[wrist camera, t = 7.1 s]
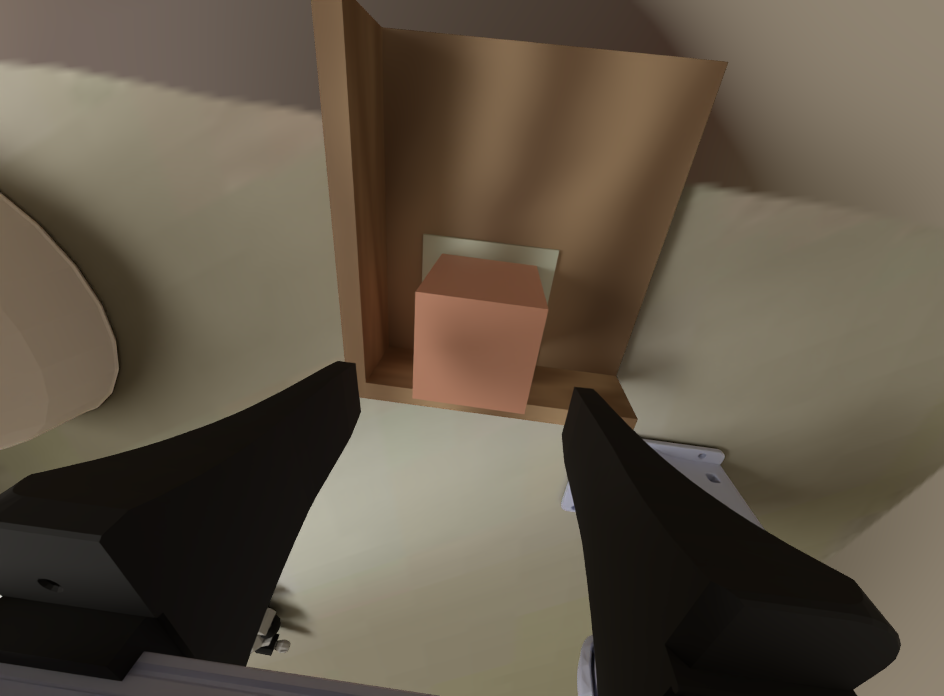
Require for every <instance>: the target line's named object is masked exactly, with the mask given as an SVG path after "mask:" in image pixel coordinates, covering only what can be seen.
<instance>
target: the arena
mask: <svg viewBox="0 0 944 696" xmlns="http://www.w3.org/2000/svg"><path fill="white" fill-rule="evenodd" d="M311 5H312V16H313V27H314V37H315V46H316V58H317V69H318V80H319V90H320V101H321V112H322V122H323V133H324V144H325V154H326V165H327V176H328V186H329V197H330V208H331V218H332V229H333V239H334V250H335V261H336V271H337V282H338V293H339V303H340V314H341V325H342V335H343V346H344V357H345V362H351V363H356V371H357V380H358V390H359V397H361V398H368V399H376V400H383V401H390V402H398V403H405V404H413V405H420V406H427V407H435V408H442V409H449V410H457V411H464V412H472V413H479V414H486V415H494V416H501V417H508V418H516V419H523V420H531V421H538V422H545V423H553V424H560V425H565V421H566V417H567V413H568V409H569V405H570V401H571V397H572V394H573V390H574V387H582V388H591V389H594V390H595V391H596V392H597V393H598V394H599V395H600V396H601V397H602V398H603V399H604V400H605V401H606V402H607V403H608V404H609V405H610V407H611V408H612V409H613V410H614V411H615V412H616V413H617V414H618V415H619V416H620V417H621V418H622V419H623V420H624V421H625V422H626V423H627V424H628V425H629V426H630V427H631V428H632V429H634V427H635V425H636V422H637V420H638V419H637V417H636V415H635V413H634V411H633V409H632V407H631V405H630V403H629V401H628V399H627V397H626V395H625V393H624V391H623V389H622V387H621V385H620V383H619V381H618V379H617V377H616V375H617V372H618V369H619V367H620V364H621V361H622V358H623V355H624V353H625V350H626V347H627V344H628V341H629V339H630V336H631V333H632V330H633V327H634V325H635V322H636V319H637V316H638V314H639V311H640V308H641V305H642V302H643V300H644V297H645V294H646V291H647V288H648V286H649V283H650V280H651V277H652V274H653V272H654V269H655V266H656V263H657V260H658V258H659V255H660V252H661V249H662V246H663V244H664V241H665V238H666V235H667V232H668V230H669V227H670V224H671V221H672V218H673V216H674V213H675V210H676V207H677V204H678V202H679V199H680V196H681V193H682V190H683V188H684V185H685V182H686V179H687V176H688V174H689V171H690V168H691V165H692V162H693V159H694V157H695V154H696V151H697V148H698V146H699V143H700V140H701V137H702V134H703V132H704V129H705V126H706V123H707V120H708V118H709V115H710V112H711V109H712V106H713V104H714V101H715V98H716V95H717V92H718V89H719V87H720V84H721V81H722V78H723V75H724V73H725V70H726V67H727V64H728V62H724V61H714V60H703V59H694V58H684V57H673V56H664V55H653V54H644V53H634V52H622V51H613V50H603V49H593V48H583V47H573V46H562V45H553V44H543V43H532V42H523V41H513V40H503V39H493V38H483V37H473V36H463V35H453V34H443V33H433V32H423V31H413V30H403V29H393V28H383V27H381V26H380V25H379V24H378V23H377V22H376V21H375V20H374V19H373V18H372V17H371V16H370V15H369V13H367V11H365V9H364V8H363V7H362V6H361V5H360V4H359V3H358V2H357V1H356V0H311ZM441 254H449V255H457V256H465V257H472V258H480V259H488V260H495V261H503V262H511V263H519V264H526V265H534V266H537V269H538V272H539V276H540V280H541V283H542V287H543V291H544V295H545V298H546V302H547V306H548V309H549V310H548V314H547V318H546V323H545V327H544V331H543V336H542V340H541V344H540V349H539V353H538V357H537V362H536V366H535V370H534V375H533V379H532V384H531V388H530V392H529V397H528V401H527V405H526V410H525V414H518V413H511V412H504V411H497V410H490V409H483V408H476V407H469V406H462V405H455V404H448V403H441V402H434V401H427V400H420V399H413V398H412V395H413V360H414V325H415V292H416V290H417V289H418V287H419V286H420V284H421V283H422V282H423V280H424V279H425V277H426V276H427V274H428V273H429V272H430V270H431V269H432V267H433V266H434V264H435V263H436V261H437V260H438V259H439V257H440V256H441Z"/></svg>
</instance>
